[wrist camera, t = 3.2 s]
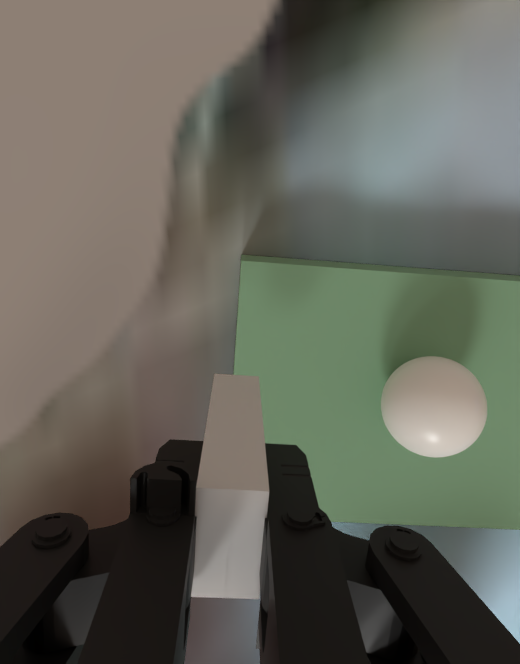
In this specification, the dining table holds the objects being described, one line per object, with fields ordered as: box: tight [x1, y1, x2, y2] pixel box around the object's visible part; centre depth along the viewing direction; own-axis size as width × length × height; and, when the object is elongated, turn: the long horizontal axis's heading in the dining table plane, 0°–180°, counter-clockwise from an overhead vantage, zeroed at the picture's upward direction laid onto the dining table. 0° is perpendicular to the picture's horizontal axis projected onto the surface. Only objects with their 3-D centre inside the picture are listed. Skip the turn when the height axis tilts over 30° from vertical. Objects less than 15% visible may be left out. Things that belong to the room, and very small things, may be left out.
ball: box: [381, 356, 487, 458], centre depth 19 cm, size 4×4×4 cm
